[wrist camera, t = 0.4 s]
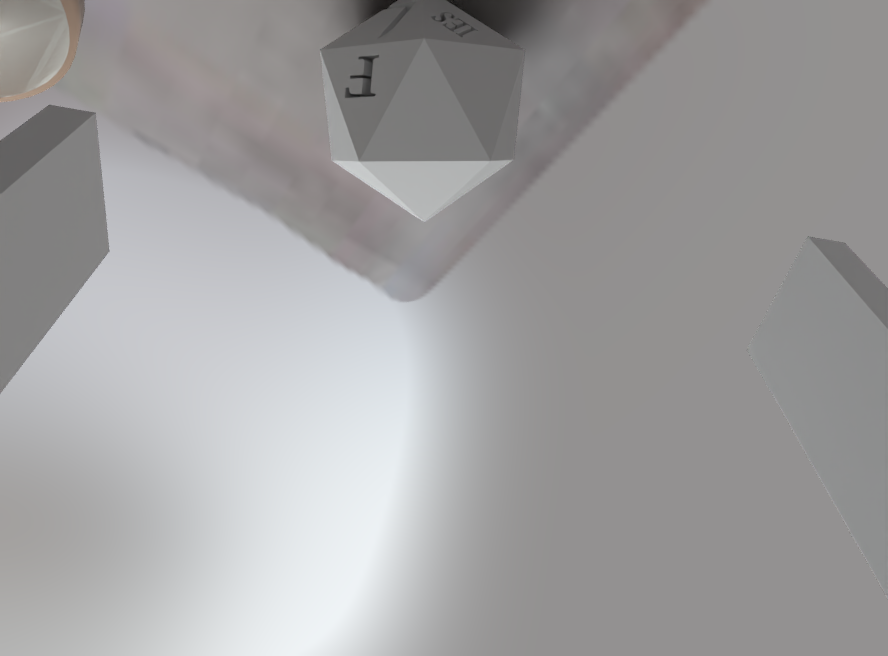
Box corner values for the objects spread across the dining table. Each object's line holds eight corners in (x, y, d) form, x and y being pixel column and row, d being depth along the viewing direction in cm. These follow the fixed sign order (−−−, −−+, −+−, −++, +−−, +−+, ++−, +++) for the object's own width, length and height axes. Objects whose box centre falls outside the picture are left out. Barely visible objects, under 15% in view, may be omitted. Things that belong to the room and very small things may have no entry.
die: (539, -50, 29) (415, 38, 23) (571, 149, 34) (476, 263, 28) (379, -22, 33) (239, 57, 27) (428, 150, 38) (319, 249, 32)
